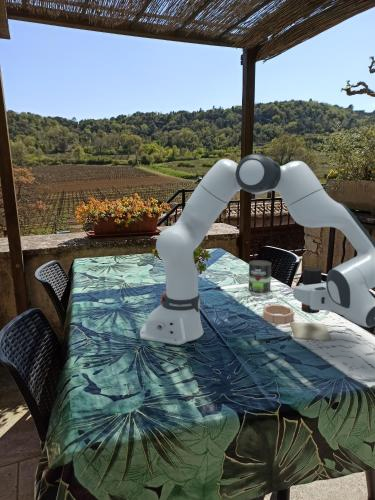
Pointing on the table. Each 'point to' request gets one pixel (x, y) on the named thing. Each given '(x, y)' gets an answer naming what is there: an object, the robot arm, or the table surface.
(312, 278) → the deodorant
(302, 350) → the table surface
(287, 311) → the ring dish
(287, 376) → the table surface
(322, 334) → the beige square cloth
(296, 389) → the table surface
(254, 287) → the coffee can
